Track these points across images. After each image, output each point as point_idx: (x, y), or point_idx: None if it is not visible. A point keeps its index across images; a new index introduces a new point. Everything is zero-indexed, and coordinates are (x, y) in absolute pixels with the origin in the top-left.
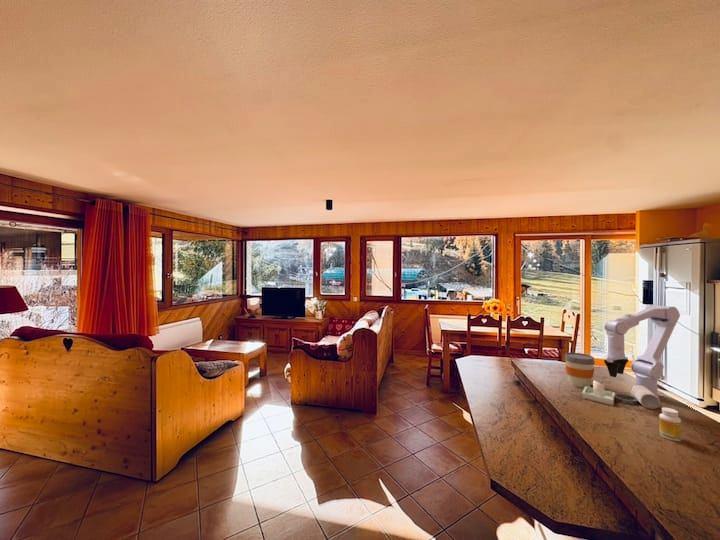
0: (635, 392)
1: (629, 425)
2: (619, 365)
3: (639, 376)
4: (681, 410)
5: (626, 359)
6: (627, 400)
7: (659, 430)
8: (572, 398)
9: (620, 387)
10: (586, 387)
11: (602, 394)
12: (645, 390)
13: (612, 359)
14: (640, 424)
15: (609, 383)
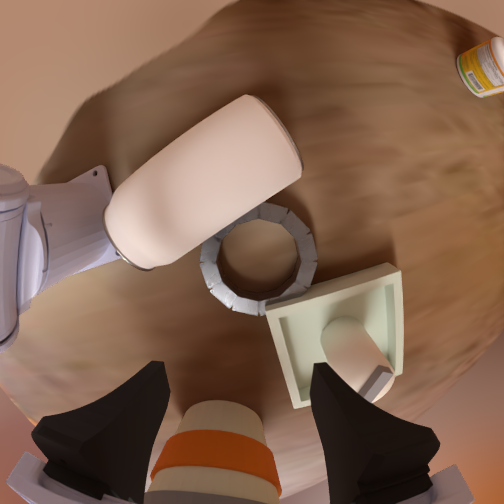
0: (223, 225)
1: (494, 168)
2: (139, 433)
3: (43, 271)
4: (154, 70)
5: (53, 449)
6: (309, 234)
7: (489, 95)
8: (417, 368)
9: (87, 325)
10: None
11: (362, 328)
12: (220, 166)
13: (469, 492)
14: (470, 143)
15: (88, 363)
